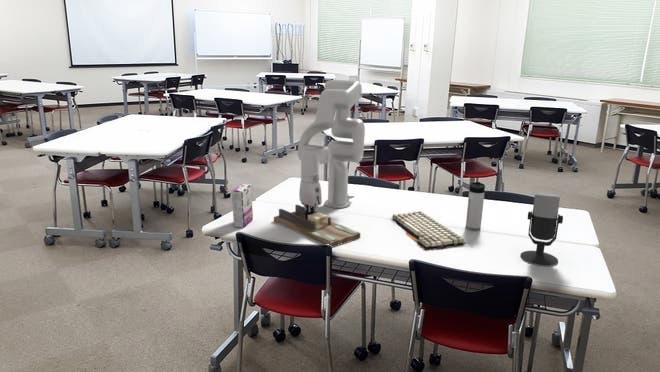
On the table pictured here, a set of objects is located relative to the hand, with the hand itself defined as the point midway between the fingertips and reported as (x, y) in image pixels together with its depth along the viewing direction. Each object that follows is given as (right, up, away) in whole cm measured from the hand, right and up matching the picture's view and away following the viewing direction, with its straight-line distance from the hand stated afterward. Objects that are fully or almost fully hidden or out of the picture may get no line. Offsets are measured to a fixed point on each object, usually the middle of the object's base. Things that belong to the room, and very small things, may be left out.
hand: (309, 219), depth 211 cm
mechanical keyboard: (+49, -6, -1) cm, 49 cm away
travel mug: (+71, -4, +3) cm, 71 cm away
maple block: (+4, -2, -3) cm, 5 cm away
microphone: (+86, -13, -27) cm, 92 cm away
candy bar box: (-29, -2, +4) cm, 29 cm away
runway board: (+2, -4, -2) cm, 5 cm away
